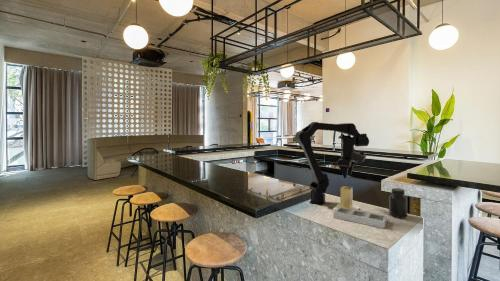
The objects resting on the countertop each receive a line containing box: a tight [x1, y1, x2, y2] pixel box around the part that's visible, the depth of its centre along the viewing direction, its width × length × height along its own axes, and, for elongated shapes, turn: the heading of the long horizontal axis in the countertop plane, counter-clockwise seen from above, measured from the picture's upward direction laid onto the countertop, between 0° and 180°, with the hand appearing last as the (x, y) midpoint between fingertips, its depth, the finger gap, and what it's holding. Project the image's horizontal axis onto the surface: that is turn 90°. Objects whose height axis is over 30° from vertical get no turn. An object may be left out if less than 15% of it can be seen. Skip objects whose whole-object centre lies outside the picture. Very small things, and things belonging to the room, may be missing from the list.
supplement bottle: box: [388, 187, 408, 220], centre depth 108 cm, size 7×7×12 cm
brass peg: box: [339, 185, 354, 209], centre depth 117 cm, size 4×4×10 cm
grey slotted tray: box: [332, 207, 388, 229], centre depth 105 cm, size 20×8×2 cm, turn 54°
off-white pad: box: [332, 203, 360, 211], centre depth 118 cm, size 10×9×1 cm
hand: (347, 176), depth 129 cm, fingers open, 9 cm apart
